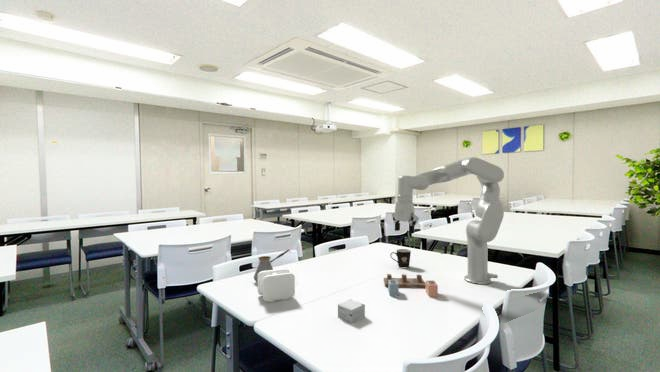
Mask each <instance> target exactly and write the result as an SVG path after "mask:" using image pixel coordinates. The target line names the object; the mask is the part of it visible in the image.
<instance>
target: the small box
mask: <svg viewBox="0 0 660 372" xmlns="http://www.w3.org/2000/svg"><path fill="white" fill-rule="evenodd" d="M365 316H366V305H365V304H364V303H362V302H359V301H357V300H353V299H351V298H350V299H348V300H346V301H342V302H340V303H338V304H337V317H338V318H340V319H342V320H344V321H347V322H350V323H351V324H353V323H355V322H357V321H359V320H361V319H363V318H365Z"/></svg>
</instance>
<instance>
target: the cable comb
mask: <svg viewBox="0 0 660 372" xmlns="http://www.w3.org/2000/svg"><path fill="white" fill-rule="evenodd" d="M388 280H397V282H398V288H412V287H414V288H415V289H419V288H420V289H426V281H424V279H423V276H422V275H421V274H416V277H409V278H408V275H407V274H405V273H404V274H403V273H402V274H401V277H393V276H392V274H390V273H387V274H386V277H383V284H384V287H385V288H388Z"/></svg>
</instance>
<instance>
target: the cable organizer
mask: <svg viewBox="0 0 660 372" xmlns="http://www.w3.org/2000/svg"><path fill="white" fill-rule="evenodd" d="M257 277H258V283H257V294H258V295H259V296H262V298H263V300H264V301H265V302H268V303H271V302H272V301H273V302H277V301H278V300H279V301H280V300H283V301H285V299H286V300H290V299H292V298H293V297H294V296H295V294H296V289H295V288H296V285H295V283H296V281H295V280H296V277H295V274H294V273H293V272H290V270H289V269H288V268H284V267H283V268H277V269H273V270H267V271H261V272H259V273H258V275H257Z"/></svg>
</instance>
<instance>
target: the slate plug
mask: <svg viewBox="0 0 660 372" xmlns="http://www.w3.org/2000/svg"><path fill="white" fill-rule="evenodd" d="M399 289H400V288H399V287H398V282H397V280H388V287H387V291H388V295H389V296H390V297H399V293H400V292H399Z"/></svg>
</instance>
